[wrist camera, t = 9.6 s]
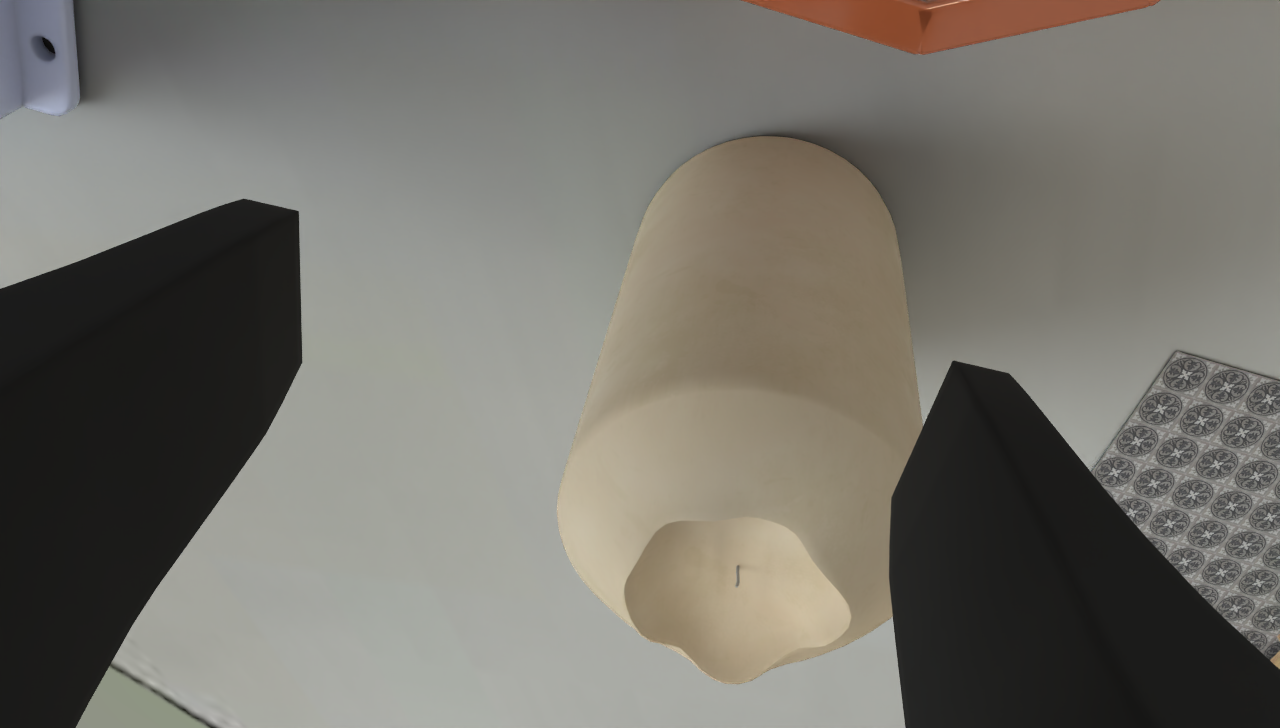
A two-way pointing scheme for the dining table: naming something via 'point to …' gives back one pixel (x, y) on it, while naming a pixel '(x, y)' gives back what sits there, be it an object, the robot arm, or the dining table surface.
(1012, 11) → the orange faceted bracelet
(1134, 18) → the dining table surface
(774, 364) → the candle
